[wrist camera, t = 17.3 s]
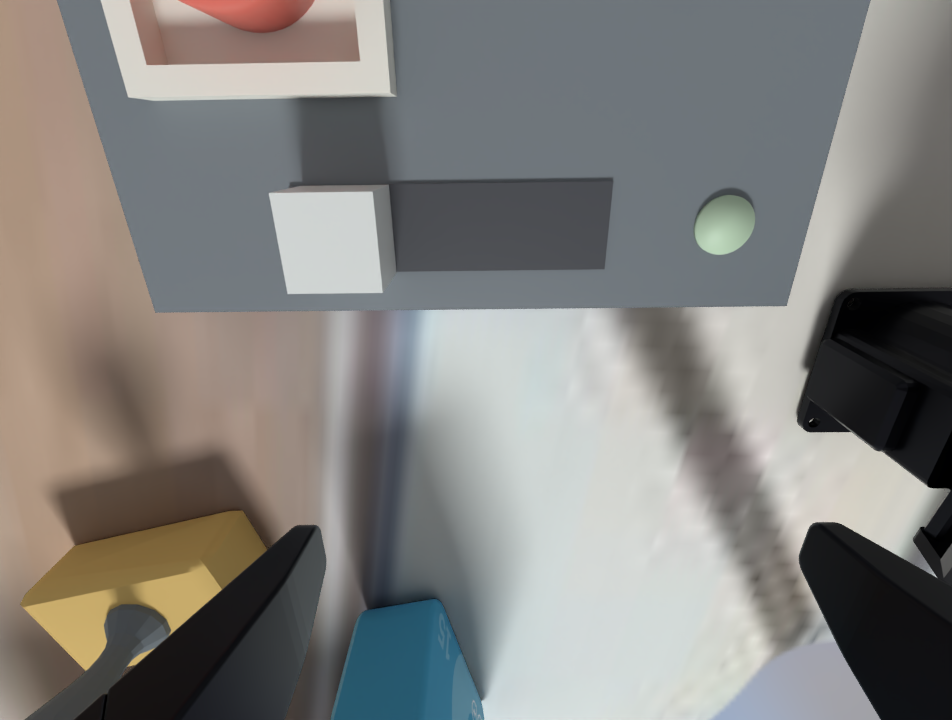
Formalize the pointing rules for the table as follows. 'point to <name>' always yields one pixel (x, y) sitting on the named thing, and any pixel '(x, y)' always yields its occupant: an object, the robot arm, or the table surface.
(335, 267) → the block
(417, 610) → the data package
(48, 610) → the rubber stamp
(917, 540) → the robot arm
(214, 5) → the cap
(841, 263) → the table surface
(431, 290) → the breaker panel
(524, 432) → the table surface
